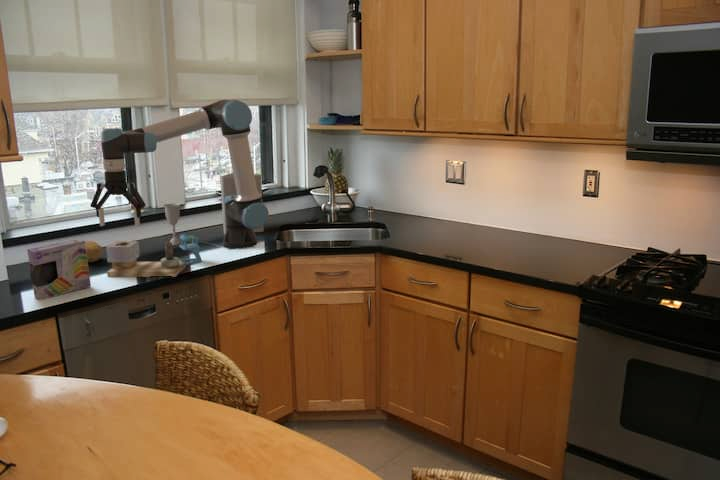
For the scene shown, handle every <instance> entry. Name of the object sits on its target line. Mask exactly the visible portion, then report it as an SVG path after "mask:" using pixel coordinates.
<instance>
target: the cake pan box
mask: <svg viewBox="0 0 720 480" xmlns="http://www.w3.org/2000/svg"><path fill="white" fill-rule="evenodd" d="M85 242H86V241H85V240H84V239H81V238H76V239H72V240H68V241H67V240H66V241H61V242H60V241H59V242H55V243H49V244H45V245H41V246H36V247H30V248H27V256H28V262H29V266H30V267H29V268H30V271H29V272H30V273H29V274H30V275H29V276H30V279H31V283H32V289H33V295H34V298H36V299H38V300H39V301H41V300H46V299H49V298H52V297H57V296H60V295H65V294H67V293H71V292H75V291H76V292H77V291H79V290H83V289H86V288H90V287H91V286H92V285H91V277H90V269H89V268H90V267H89V262H88V260H87V252H86V245H85Z"/></svg>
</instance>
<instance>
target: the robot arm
mask: <svg viewBox="0 0 720 480" xmlns="http://www.w3.org/2000/svg"><path fill="white" fill-rule="evenodd" d="M252 121H253V113H252V111H251V108H250V107H249V106H248V105H247V104H246V103H245V102H243V101H241V100H238V99H220V100H218V101H215V102H213V103H210V104H207V105H205V106H201V107H199V109H197V110H196V111H193V112H190V113H187V114H184V115H180V116H176V117H172V118H170V119H167V120H163V121H159V122H155V123H152V124H149V125H145V126H141V127H139V128H136V129H132V130H131V129H130V130H129V129H128V130H125V131H123V129H122V128H119V127H115V128H113V127H112V128H111V127H109V128H103V129H101V131H100V143H101V151H102V163H103V169H104V172H103V173H104V181H105V182H98V183H97V184H96V191H95V192H94V195H93V198H92V201H91V203H90V205H89V206H90V207H91V208H94V209H95V211H96V212H95V213H96V217H97V218H99V219H98V221H99V226H100V227H103V226H105V225H106V221H105V220H106V219H105V212H104V207H102V206H103V205H104V204H105V203H106V201H107V200H108V198H110V196H123V197H124V198H126V200H127V201H129V203H130V204H131V205H132V206H133V207H134V209H133V215H134V216H133V217H134V226H135V227H139V226H141V223H140V222H141V221H140V218H141V217H142V209H143V208H144V207H146V203H145V201H144V199H143V198H142V196H141V194H140V192H139V190H138V189H137V187H136V183H135V182H131V183H128V182H127V172H126V170H125V169H126V163H125V162H126V161H125V154H126V155H127V154H141V153H142V154H144V153H146V154H148V153H155V151H156V150H157V143H161V142H164V141H167V140H168V141H169V140H170V139H174V138H178V137H181V136H184V135H187V134H192V133H193V132H197V131H200V130H206V131H208V130H212V129H219V128H220V130H221V136H222V137H224V138H225V139H226V143H227V146H228V147H227V148H228V152H229V157H230V163H231V167H232V173H233V174H234V180H235V185H236V191H237V195H230V196H226V197H225V203H224V204H225V216H226V232H225V234H224V237H223V242H222V243H223V244H222V245H223V247H224V248H226V249H234V250H236V249H237V250H241V249H248V248H253V247H255V246H257V245H258V238H257V236H256V232H254V230H253V229H258V228H260V227H262V226H263V227H264V226H265V225H266V223H267V222H268V220H269V214H270V213H269V209H268V207H267V205H265V203H264V201H263V200H264V199H263V194H262V195H261V194H260V193H258V192H257V187H256V181H255V175H254V174H255V171H254V170H255V169H254V166H253V165H254V164H253V159H252V153H251V148H250V142H249V135H250V133H251V132H252V131H251V127H250V126H251V123H252ZM128 188H129V190H130V191H131V193H132V194H131V193H130V192H129V190H127V189H128ZM104 189H106V191H105V192H104V195H102V192H103V190H104ZM101 195H102V197H101ZM132 195H133V196H134V197H133V196H132ZM100 197H101V198H100Z"/></svg>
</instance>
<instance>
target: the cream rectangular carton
mask: <svg viewBox="0 0 720 480" xmlns="http://www.w3.org/2000/svg"><path fill="white" fill-rule="evenodd" d="M254 175H255V181H256V187H257V192H258V193H260V194H261V195H262V196H263V187H262V185H263V184H262V174H260V173H254ZM220 191H221V193H220V195H221V208H222V209H221V210H222V211H221V212H222V223H223V224H222V225H223V234H224V235H225V232H226V216H225V204H224V203H225V197H226V196H230V195H237V191H236V185H235V180H234V174H233V172H231V173H228V174H223V175H221V176H220ZM264 229H265V228H264V225H263V226H262V227H260V228H258V229H253V230H254V233H261V232H263V233H264Z"/></svg>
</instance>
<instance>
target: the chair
mask: <svg viewBox="0 0 720 480" xmlns="http://www.w3.org/2000/svg"><path fill="white" fill-rule="evenodd" d="M190 240H191V243H187V242H188V241H190ZM179 241H180V244H178V245H179V248H181V249H182V250H183V251H191V252H192V253H193V255H194V257H195V258H193V257H192V258H181V259H180V258H179V262H186V266H189V265H194V264H198V263H202V261H203V260H202V257H201V255H200V252H199V249H201V247H200V245H199V244H198V243H199V237H195V235H194V234H189V233H184V234H181V235H180V236H179Z"/></svg>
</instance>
